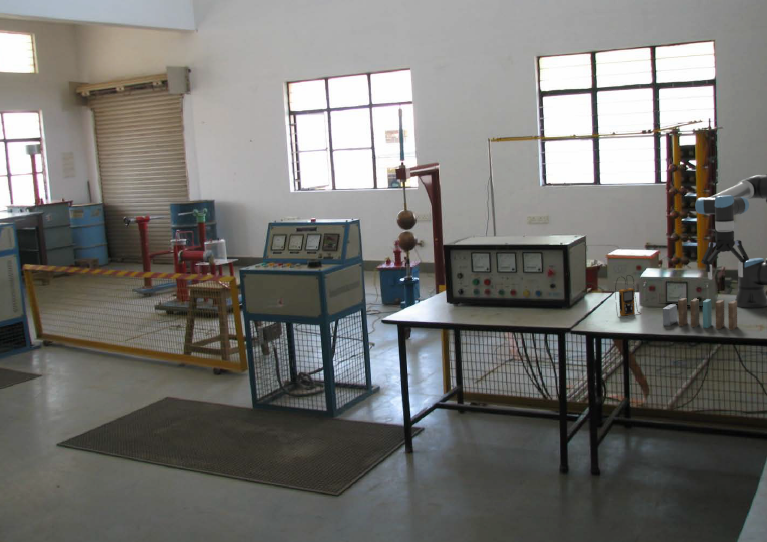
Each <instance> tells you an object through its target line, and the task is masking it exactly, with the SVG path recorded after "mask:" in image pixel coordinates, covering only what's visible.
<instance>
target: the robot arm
mask: <svg viewBox="0 0 767 542" xmlns="http://www.w3.org/2000/svg"><path fill="white" fill-rule="evenodd" d="M750 199H765V204H767V174H762V173H761V174H756V175H753V176H750V177H747V178H745V179H744V178H743V179H742V180H740V181H738V182H737V183H736V184H735V185H734V186H731V187H729V188H727V189H724V190H722V191H720V192H719V193H716V194H714V195H711V196H709V197H698V198H697V199H696V201H695V203H694V204H695V206H694V207H695V211H696V213H697V214H700V215H715V216H714V217H715V222H714V223H715V230H716V231H715V242H708V244H707V249H706V251H705V252H704V255H703V258H702V259H701V261H700V263H701V264H703V265H705V272H706V273H707V279H708V280H713V265H712V262H714V260H715V259H716V257H717V256H718V255H719V254H720V253H721V252H722V253H724V252H731V253H732V254H733V255H734V256H735V257H736V258H737V260H739V261H738V263H737V264H738V265H737V274H738V276H737V279H738V280H737V281H738V290H737V294H736V296H735V298H734V299H735V300H734V301H737V307H739V308H747V309H748V308H749V309H752V308H753V309H755V308H756V309H757V308H758V309H759V308H764V307H767V294H766V291H765V286H767V257H766V258H765V259H764V258H762V257H754V258H750V257H749V256H748V254H747V252H746V250H745V248H744V246H743V243H742V240H741V239H737V240H735V231H734V229H735V221H734V220H735V216H738V215H741V214H744V213H746V212H747V211H748V210H749V208H750V203H749V200H750ZM734 246H736V247H737V248H738V251H739V252H740V253H739V252H738V251H737V250H736V248H735V247H734ZM714 247H715V248H714ZM713 249H714V251H713ZM712 251H713V252H712Z"/></svg>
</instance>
